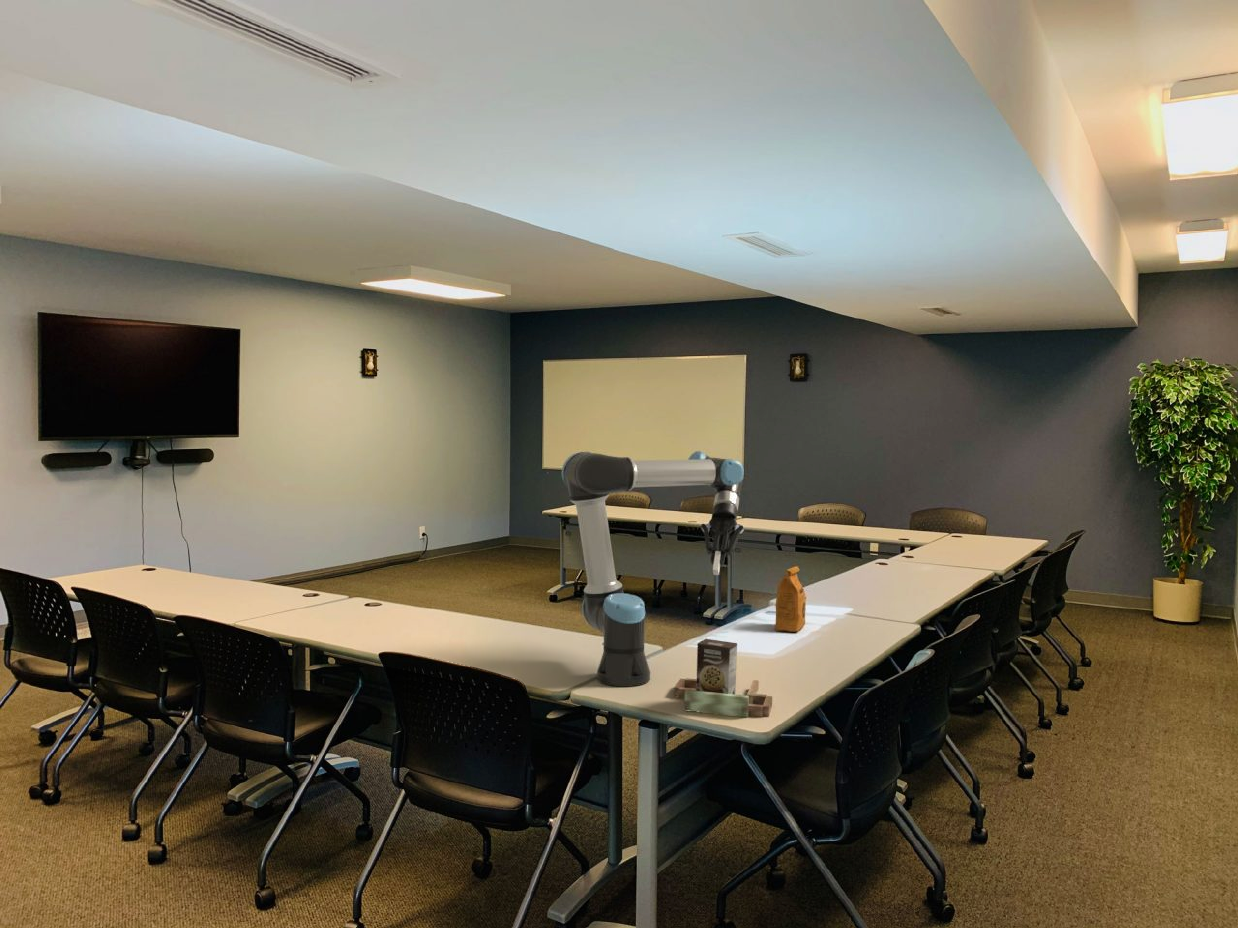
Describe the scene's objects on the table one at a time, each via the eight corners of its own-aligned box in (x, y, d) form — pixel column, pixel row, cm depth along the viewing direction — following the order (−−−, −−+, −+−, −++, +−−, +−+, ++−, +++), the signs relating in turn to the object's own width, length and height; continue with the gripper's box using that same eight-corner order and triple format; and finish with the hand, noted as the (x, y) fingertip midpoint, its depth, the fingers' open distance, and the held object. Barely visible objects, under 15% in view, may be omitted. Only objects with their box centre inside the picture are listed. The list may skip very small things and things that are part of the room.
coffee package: (809, 627, 311) (811, 566, 310) (798, 634, 301) (799, 571, 299) (783, 623, 316) (784, 564, 315) (771, 631, 306) (772, 569, 304)
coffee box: (695, 704, 226) (696, 643, 225) (704, 697, 232) (705, 637, 231) (728, 709, 222) (729, 647, 221) (736, 702, 228) (737, 641, 227)
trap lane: (665, 708, 222) (665, 689, 222) (683, 682, 245) (683, 664, 244) (767, 719, 215) (768, 699, 215) (776, 691, 238) (777, 673, 237)
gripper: (747, 517, 267) (739, 581, 252) (705, 516, 270) (695, 578, 255) (745, 502, 262) (737, 565, 246) (703, 500, 265) (691, 563, 250)
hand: (715, 572), depth 251 cm, fingers closed
